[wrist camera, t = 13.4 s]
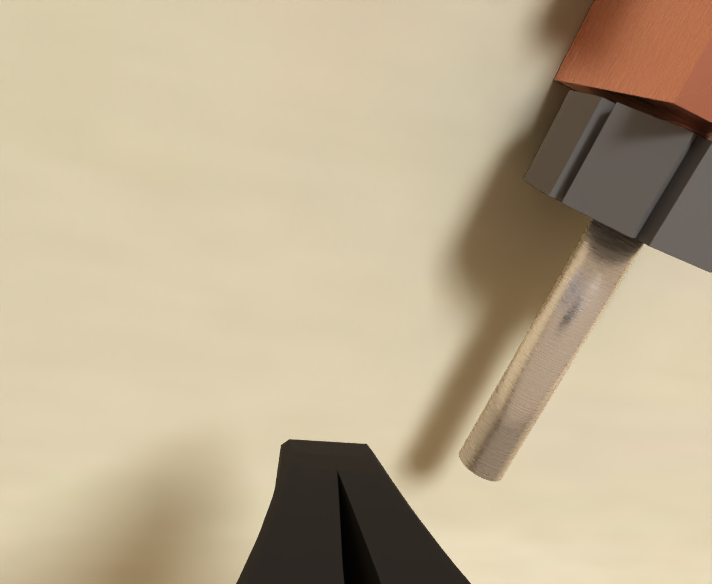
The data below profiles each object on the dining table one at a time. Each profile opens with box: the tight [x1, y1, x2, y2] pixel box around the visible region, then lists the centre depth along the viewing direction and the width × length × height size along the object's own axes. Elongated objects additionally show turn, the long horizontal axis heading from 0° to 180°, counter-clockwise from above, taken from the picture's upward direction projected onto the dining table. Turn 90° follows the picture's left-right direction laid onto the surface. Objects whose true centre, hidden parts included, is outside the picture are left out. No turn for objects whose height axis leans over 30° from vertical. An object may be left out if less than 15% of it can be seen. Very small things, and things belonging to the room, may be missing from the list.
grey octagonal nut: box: [523, 90, 712, 273], centre depth 16 cm, size 5×2×5 cm, turn 66°
